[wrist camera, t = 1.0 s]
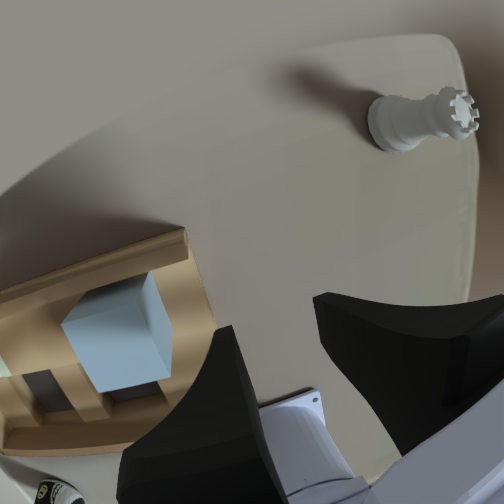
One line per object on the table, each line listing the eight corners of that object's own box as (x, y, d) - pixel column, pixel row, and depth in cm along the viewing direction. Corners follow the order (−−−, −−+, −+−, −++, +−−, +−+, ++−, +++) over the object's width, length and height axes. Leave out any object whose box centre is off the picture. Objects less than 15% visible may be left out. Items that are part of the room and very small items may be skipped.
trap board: (236, 379, 22) (249, 423, 17) (19, 421, 19) (3, 455, 14) (184, 227, 19) (183, 242, 14) (-45, 309, 16) (-77, 333, 11)
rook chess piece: (410, 157, 21) (489, 157, 13) (364, 150, 20) (444, 142, 12) (408, 104, 20) (484, 87, 12) (362, 91, 19) (437, 63, 11)
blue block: (173, 329, 18) (170, 377, 13) (115, 345, 17) (98, 393, 13) (150, 268, 17) (136, 301, 12) (89, 287, 16) (60, 324, 11)
